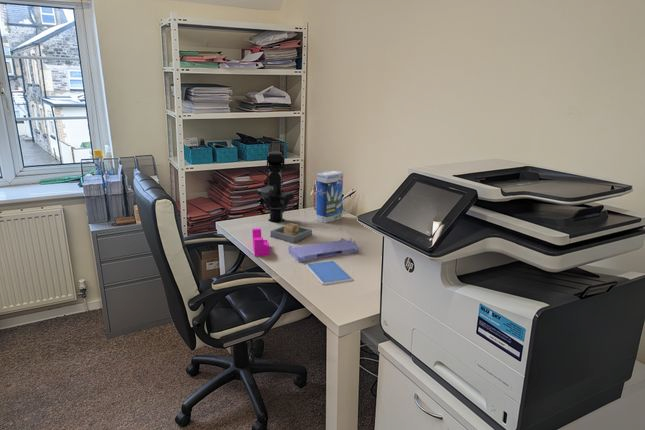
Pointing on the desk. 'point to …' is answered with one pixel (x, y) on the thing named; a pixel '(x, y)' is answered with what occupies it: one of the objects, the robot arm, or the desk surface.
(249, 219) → the desk surface
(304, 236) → the tray
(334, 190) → the string lights box
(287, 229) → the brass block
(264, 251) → the toy block
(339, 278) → the blue book
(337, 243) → the lavender slotted plate
